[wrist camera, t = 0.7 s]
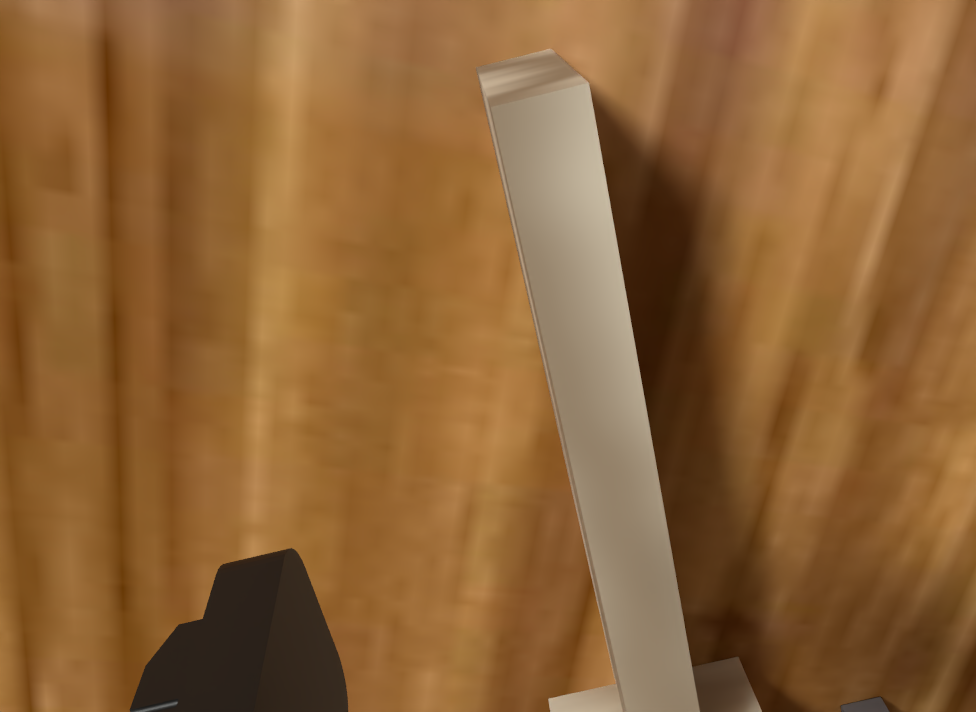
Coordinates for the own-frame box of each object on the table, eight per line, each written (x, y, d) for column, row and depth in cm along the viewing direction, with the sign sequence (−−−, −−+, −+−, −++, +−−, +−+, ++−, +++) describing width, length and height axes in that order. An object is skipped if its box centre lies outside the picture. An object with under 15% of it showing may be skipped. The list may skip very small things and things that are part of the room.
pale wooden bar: (645, 24, 23) (712, 52, 18) (742, 686, 33) (804, 833, 28) (382, 90, 24) (369, 137, 18) (556, 727, 34) (581, 880, 28)
